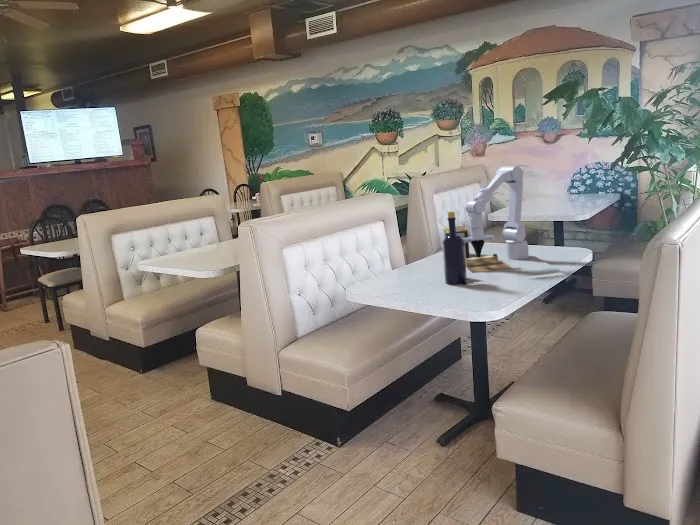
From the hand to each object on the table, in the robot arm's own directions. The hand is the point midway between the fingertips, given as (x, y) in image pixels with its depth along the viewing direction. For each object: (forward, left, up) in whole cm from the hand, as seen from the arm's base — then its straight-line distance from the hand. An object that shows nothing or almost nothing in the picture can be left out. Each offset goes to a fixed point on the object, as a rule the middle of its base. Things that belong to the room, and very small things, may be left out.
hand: (478, 257), depth 253 cm
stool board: (-4, 0, -6) cm, 7 cm away
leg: (-3, -5, -4) cm, 7 cm away
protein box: (+4, -26, -6) cm, 27 cm away
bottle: (+14, +17, -6) cm, 23 cm away
